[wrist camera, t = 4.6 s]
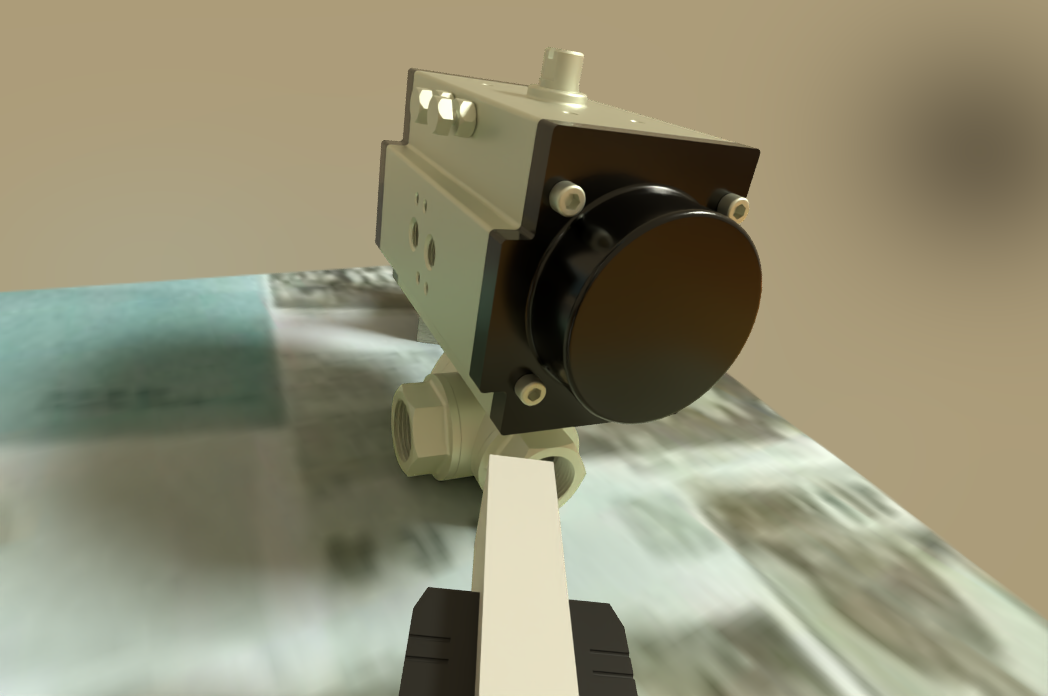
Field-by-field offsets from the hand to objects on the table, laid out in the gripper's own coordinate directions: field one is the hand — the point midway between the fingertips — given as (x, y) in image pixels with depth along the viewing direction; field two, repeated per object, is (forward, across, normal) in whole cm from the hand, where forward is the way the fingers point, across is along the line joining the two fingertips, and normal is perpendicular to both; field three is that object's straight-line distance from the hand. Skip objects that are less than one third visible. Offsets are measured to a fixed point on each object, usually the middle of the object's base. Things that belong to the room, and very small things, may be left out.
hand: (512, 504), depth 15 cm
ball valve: (+12, 0, -8) cm, 15 cm away
